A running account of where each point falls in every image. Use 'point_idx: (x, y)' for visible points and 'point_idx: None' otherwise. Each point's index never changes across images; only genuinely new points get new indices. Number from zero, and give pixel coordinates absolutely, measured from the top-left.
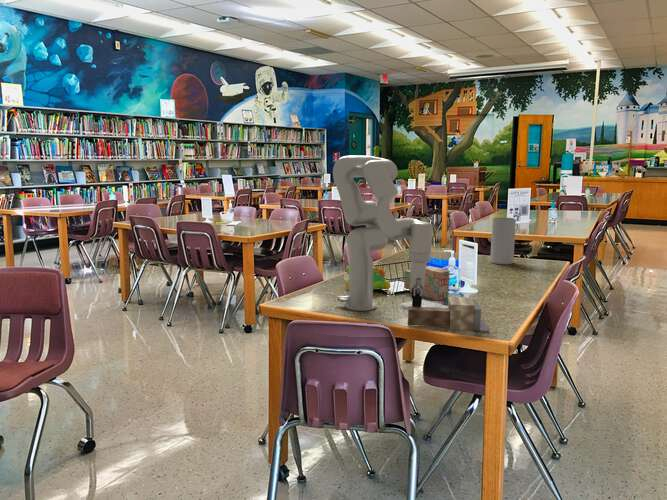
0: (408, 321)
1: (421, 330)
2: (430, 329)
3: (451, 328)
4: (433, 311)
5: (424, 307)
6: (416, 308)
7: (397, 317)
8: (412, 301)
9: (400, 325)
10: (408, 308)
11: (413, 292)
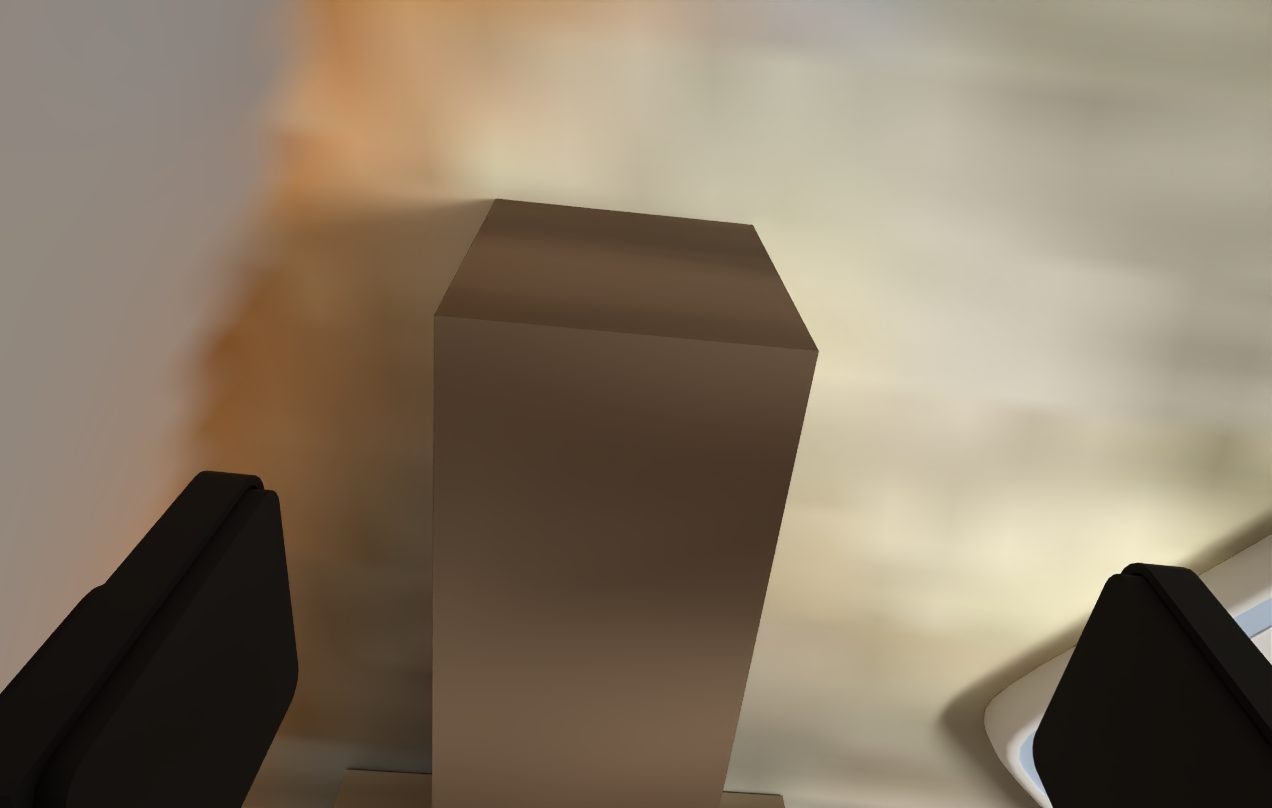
0: (483, 226)
1: (208, 400)
2: (302, 540)
3: (343, 795)
4: (434, 806)
5: (694, 701)
6: (594, 530)
7: (1097, 30)
8: (114, 578)
9: (474, 30)
10: (580, 329)
11: (1219, 786)
